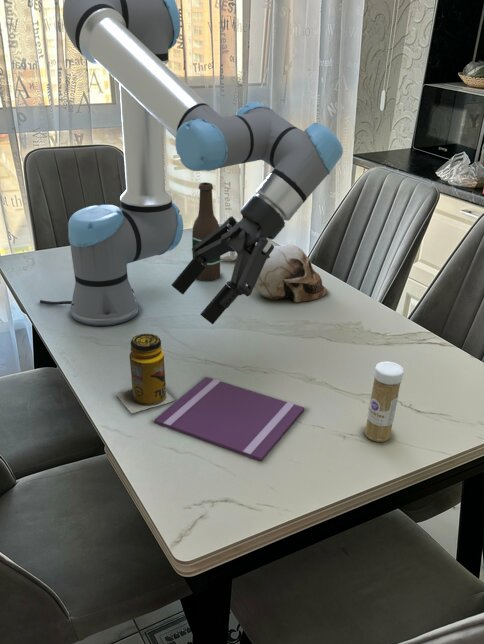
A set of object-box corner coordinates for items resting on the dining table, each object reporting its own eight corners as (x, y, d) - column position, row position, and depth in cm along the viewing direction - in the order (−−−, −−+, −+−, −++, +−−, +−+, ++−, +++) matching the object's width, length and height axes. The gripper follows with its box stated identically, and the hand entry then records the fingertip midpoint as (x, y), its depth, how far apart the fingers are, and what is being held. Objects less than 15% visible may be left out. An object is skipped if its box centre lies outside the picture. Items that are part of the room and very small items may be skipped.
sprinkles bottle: (359, 435, 103) (369, 367, 96) (372, 424, 106) (384, 357, 99) (382, 446, 101) (395, 377, 93) (395, 434, 104) (409, 366, 96)
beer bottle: (225, 273, 164) (226, 181, 151) (214, 283, 158) (214, 189, 144) (199, 268, 166) (197, 178, 153) (187, 278, 160) (184, 185, 146)
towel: (154, 422, 104) (153, 419, 104) (205, 379, 117) (205, 376, 117) (261, 461, 96) (261, 458, 96) (304, 410, 109) (304, 407, 109)
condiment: (174, 401, 110) (172, 343, 104) (131, 414, 106) (126, 355, 100) (157, 383, 115) (153, 326, 109) (115, 395, 111) (109, 337, 105)
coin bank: (332, 291, 155) (333, 241, 147) (292, 319, 145) (290, 267, 137) (284, 277, 163) (282, 229, 155) (242, 302, 153) (238, 252, 145)
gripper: (321, 243, 96) (235, 345, 98) (251, 204, 115) (180, 290, 117) (294, 214, 91) (205, 321, 93) (225, 177, 110) (152, 267, 112)
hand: (190, 304), depth 105 cm, fingers open, 13 cm apart
